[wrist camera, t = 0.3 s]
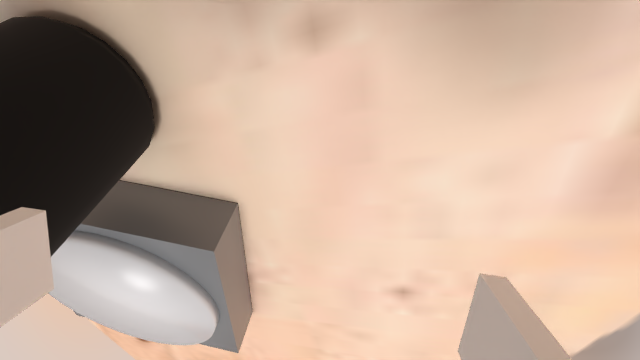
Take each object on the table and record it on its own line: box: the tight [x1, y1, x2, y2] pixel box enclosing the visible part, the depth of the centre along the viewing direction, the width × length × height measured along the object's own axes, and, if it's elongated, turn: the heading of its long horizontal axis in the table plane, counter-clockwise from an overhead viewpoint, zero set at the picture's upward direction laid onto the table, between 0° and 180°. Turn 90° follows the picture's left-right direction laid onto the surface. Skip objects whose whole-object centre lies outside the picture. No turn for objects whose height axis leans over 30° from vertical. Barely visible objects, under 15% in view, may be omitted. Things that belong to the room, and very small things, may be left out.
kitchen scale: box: [48, 180, 253, 353], centre depth 36 cm, size 20×21×6 cm
